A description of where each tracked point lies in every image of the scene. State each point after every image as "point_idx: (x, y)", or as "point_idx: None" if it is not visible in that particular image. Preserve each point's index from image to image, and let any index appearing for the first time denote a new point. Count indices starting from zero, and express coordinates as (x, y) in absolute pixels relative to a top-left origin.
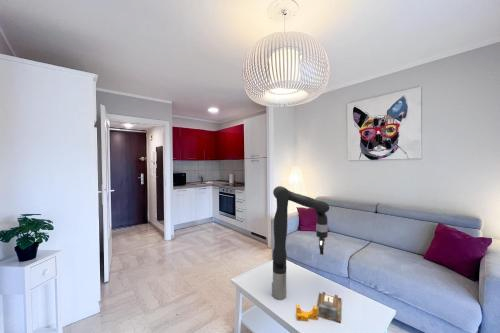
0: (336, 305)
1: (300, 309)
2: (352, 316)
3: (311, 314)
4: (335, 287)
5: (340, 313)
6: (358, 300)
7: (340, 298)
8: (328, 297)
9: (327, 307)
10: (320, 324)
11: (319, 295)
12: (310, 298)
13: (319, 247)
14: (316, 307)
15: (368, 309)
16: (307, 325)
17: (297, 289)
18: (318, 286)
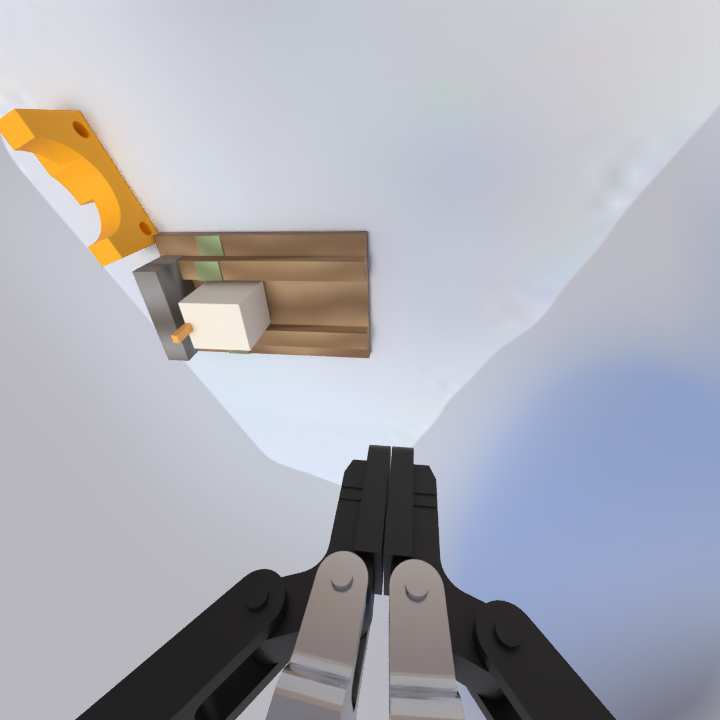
0: (269, 341)
1: (47, 148)
2: (272, 387)
3: (103, 221)
4: (494, 325)
5: (240, 351)
6: (403, 419)
7: (365, 354)
8: (176, 339)
9: (160, 316)
10: (126, 264)
11: (336, 239)
12: (294, 175)
13: (150, 659)
14: (109, 258)
15: (353, 442)
16: (67, 201)
17: (360, 20)
18: (473, 212)
